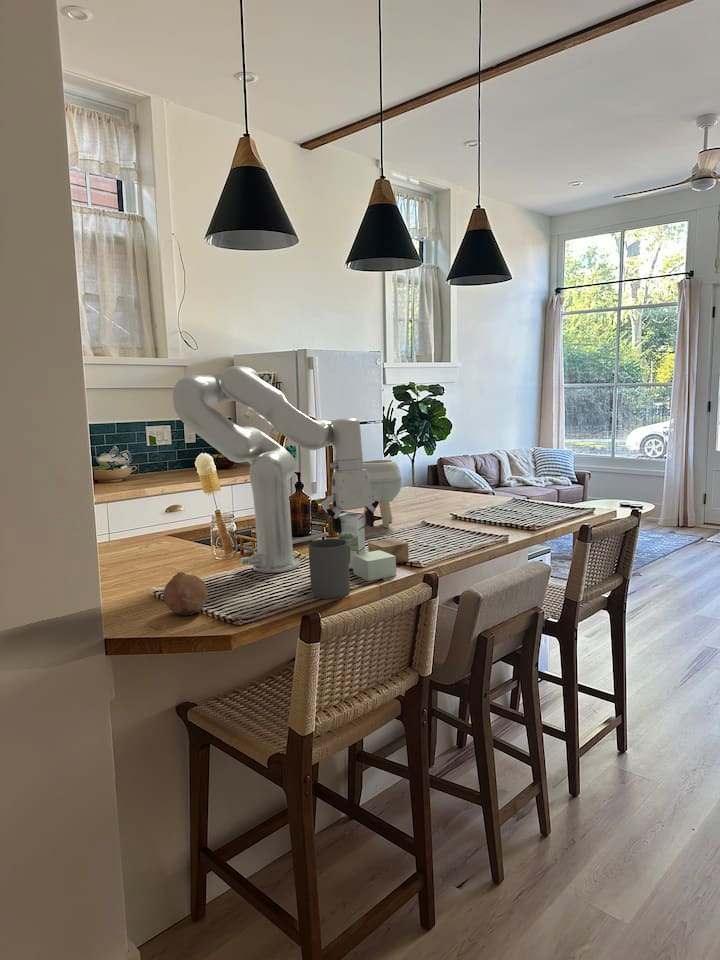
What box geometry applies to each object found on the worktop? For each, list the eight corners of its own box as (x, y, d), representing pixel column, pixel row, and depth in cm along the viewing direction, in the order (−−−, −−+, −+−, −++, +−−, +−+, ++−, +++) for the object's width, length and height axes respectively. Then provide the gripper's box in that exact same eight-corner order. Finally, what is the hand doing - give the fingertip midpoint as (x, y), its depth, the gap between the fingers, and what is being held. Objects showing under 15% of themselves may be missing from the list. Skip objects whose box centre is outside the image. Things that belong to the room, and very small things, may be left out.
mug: (337, 601, 147) (334, 549, 146) (303, 596, 152) (300, 546, 150) (366, 584, 159) (364, 536, 157) (334, 580, 164) (332, 533, 162)
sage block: (368, 580, 162) (367, 561, 161) (353, 573, 169) (352, 554, 168) (396, 575, 165) (395, 556, 165) (380, 568, 173) (379, 550, 172)
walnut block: (383, 565, 175) (382, 547, 175) (368, 559, 182) (368, 542, 182) (408, 560, 179) (407, 543, 178) (393, 555, 186) (392, 537, 185)
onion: (178, 623, 147) (167, 580, 149) (217, 609, 147) (206, 567, 149) (162, 622, 138) (151, 577, 140) (205, 607, 138) (193, 562, 140)
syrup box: (366, 564, 177) (364, 511, 175) (359, 570, 172) (357, 516, 170) (347, 563, 179) (344, 511, 177) (339, 569, 174) (336, 515, 172)
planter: (398, 519, 237) (395, 457, 234) (407, 528, 222) (404, 462, 219) (354, 522, 235) (351, 460, 232) (360, 531, 219) (357, 465, 216)
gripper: (325, 470, 165) (330, 537, 167) (384, 462, 172) (389, 526, 175) (313, 468, 171) (318, 532, 173) (370, 461, 179) (375, 522, 181)
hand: (354, 529), depth 174 cm, fingers open, 9 cm apart
